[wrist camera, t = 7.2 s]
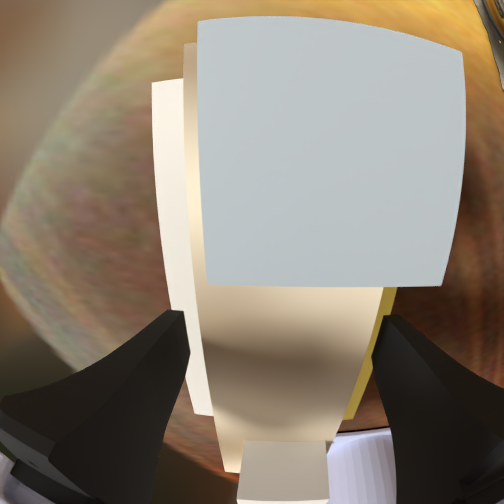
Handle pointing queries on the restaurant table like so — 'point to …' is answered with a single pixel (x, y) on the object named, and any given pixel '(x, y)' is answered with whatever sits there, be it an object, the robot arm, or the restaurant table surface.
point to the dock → (179, 249)
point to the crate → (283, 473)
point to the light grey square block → (327, 153)
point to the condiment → (494, 28)
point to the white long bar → (271, 336)
